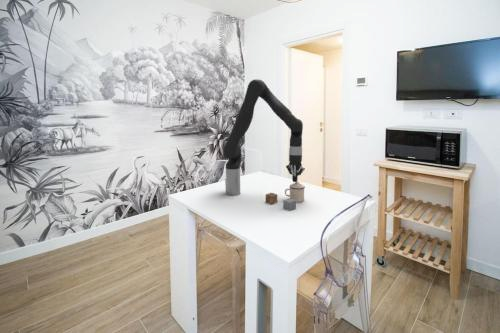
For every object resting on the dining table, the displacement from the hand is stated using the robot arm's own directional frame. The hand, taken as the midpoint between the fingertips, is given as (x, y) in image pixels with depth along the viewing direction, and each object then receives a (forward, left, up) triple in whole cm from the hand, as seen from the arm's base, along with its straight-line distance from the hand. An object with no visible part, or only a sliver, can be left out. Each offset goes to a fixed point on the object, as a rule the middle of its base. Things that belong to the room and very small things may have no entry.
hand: (294, 181), depth 164 cm
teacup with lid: (0, 0, -12) cm, 12 cm away
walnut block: (-7, -13, -12) cm, 19 cm away
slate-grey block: (+7, -13, -12) cm, 19 cm away
